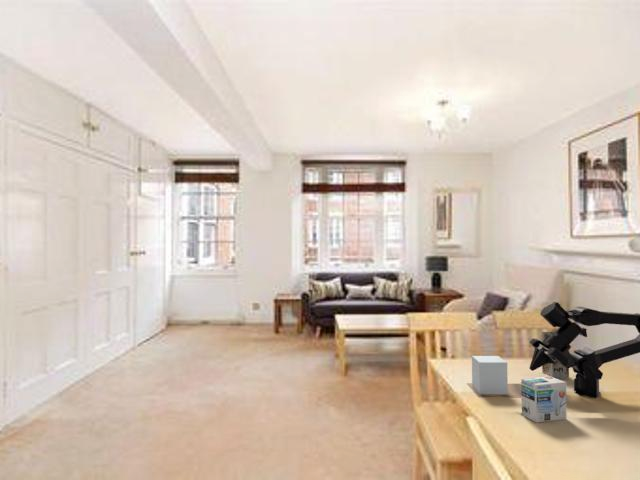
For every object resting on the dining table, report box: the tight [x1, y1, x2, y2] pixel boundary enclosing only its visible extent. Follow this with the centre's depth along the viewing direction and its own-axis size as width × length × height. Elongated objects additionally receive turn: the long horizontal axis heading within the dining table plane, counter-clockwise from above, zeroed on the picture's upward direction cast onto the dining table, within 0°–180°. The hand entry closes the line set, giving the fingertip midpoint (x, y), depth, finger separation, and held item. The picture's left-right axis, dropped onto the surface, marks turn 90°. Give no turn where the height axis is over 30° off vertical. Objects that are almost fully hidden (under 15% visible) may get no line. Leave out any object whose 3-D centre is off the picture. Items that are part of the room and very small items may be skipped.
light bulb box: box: [520, 375, 567, 424], centre depth 135 cm, size 11×7×11 cm, turn 105°
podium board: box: [466, 382, 522, 399], centre depth 156 cm, size 20×15×1 cm
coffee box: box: [540, 331, 570, 380], centre depth 178 cm, size 9×6×16 cm
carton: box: [471, 355, 509, 395], centre depth 156 cm, size 9×9×10 cm
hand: (530, 369), depth 156 cm, fingers closed
